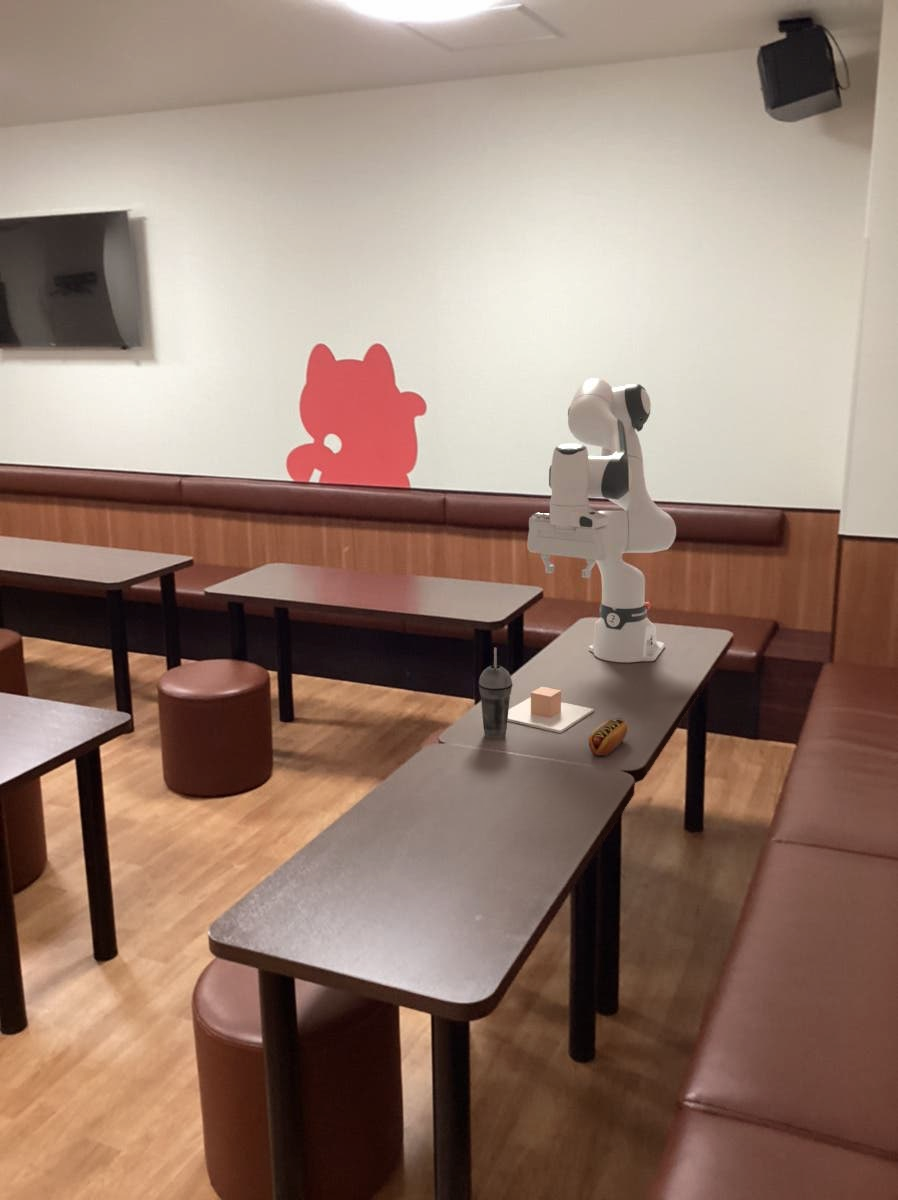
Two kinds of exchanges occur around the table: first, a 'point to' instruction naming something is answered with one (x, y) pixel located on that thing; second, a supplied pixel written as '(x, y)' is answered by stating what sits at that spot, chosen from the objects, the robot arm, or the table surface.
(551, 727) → the mat
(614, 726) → the hot dog
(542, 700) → the cube
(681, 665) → the table surface
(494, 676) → the beverage cup
